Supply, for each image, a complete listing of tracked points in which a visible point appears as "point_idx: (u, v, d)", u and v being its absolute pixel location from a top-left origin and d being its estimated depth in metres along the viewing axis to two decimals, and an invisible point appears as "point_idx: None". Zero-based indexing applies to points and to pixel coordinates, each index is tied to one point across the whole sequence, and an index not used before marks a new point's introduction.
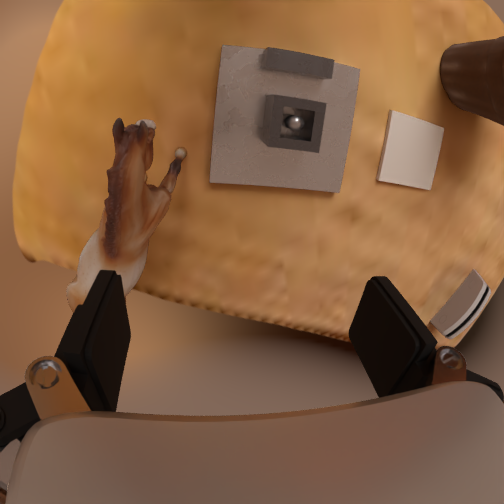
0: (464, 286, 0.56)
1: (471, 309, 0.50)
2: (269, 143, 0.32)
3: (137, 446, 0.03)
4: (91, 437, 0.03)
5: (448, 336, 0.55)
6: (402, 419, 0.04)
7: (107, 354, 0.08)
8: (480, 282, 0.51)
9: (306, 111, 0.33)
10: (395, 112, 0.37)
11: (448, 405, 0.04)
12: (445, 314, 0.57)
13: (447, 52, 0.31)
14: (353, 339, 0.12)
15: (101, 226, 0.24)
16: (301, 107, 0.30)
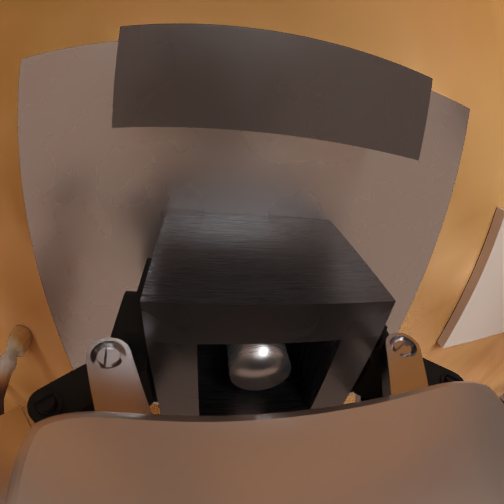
0: None
1: None
2: None
3: (137, 446, 0.03)
4: (91, 437, 0.03)
5: None
6: (402, 419, 0.04)
7: None
8: None
9: None
10: None
11: (448, 405, 0.04)
12: None
13: None
14: None
15: None
16: (281, 338, 0.07)
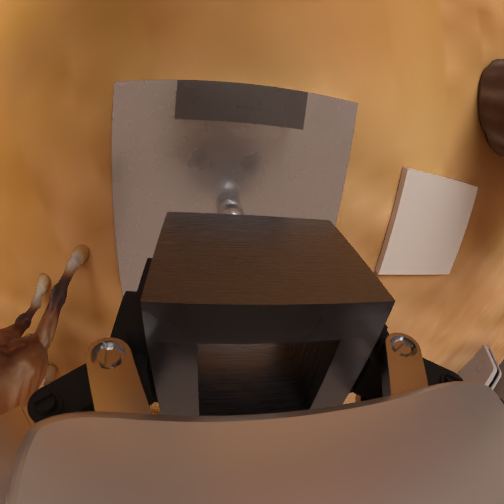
0: (471, 366, 0.42)
1: None
2: None
3: (137, 446, 0.03)
4: (90, 437, 0.03)
5: None
6: (402, 419, 0.04)
7: None
8: (490, 366, 0.38)
9: None
10: (412, 171, 0.24)
11: (448, 405, 0.04)
12: None
13: (489, 72, 0.19)
14: None
15: None
16: (280, 338, 0.07)
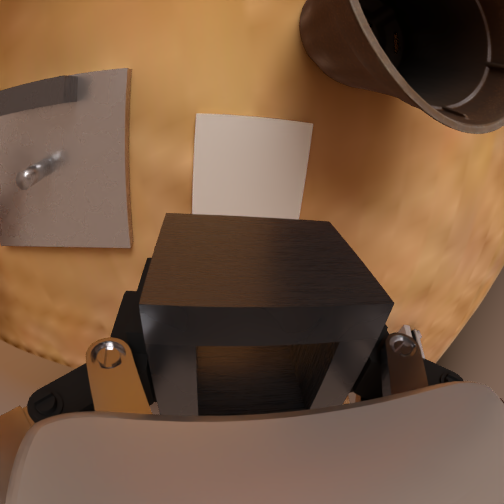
0: None
1: None
2: None
3: (137, 446, 0.03)
4: (90, 437, 0.03)
5: None
6: (402, 419, 0.04)
7: None
8: None
9: None
10: (202, 116, 0.25)
11: (448, 405, 0.04)
12: None
13: None
14: None
15: None
16: (279, 340, 0.07)
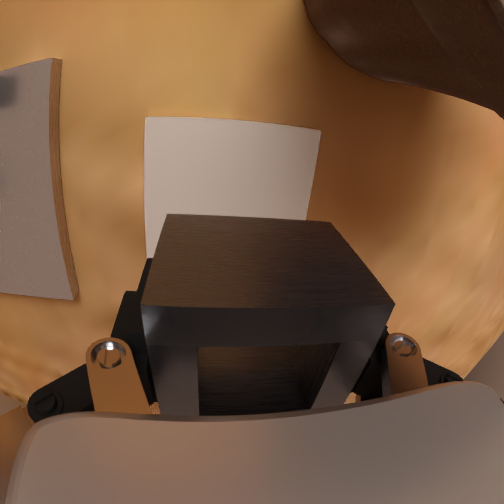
0: None
1: None
2: None
3: (137, 446, 0.03)
4: (91, 437, 0.03)
5: None
6: (402, 419, 0.04)
7: None
8: None
9: None
10: (154, 120, 0.16)
11: (448, 405, 0.04)
12: None
13: None
14: None
15: None
16: (280, 341, 0.07)
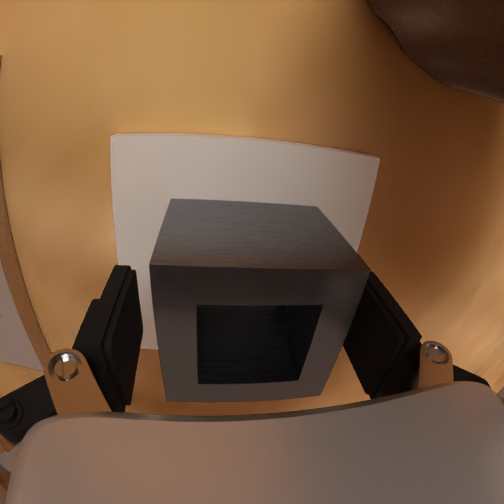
0: None
1: None
2: (168, 395, 0.10)
3: (137, 446, 0.03)
4: (90, 437, 0.03)
5: None
6: (402, 419, 0.04)
7: (124, 347, 0.08)
8: None
9: None
10: (124, 141, 0.10)
11: (448, 405, 0.04)
12: None
13: None
14: None
15: None
16: (268, 300, 0.08)
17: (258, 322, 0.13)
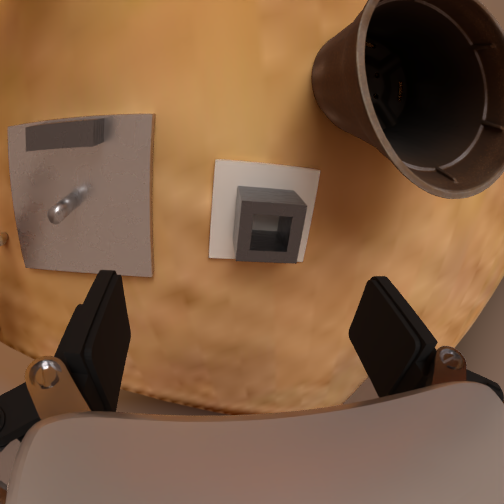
0: None
1: None
2: (237, 257, 0.29)
3: (137, 446, 0.03)
4: (90, 437, 0.03)
5: None
6: (402, 419, 0.04)
7: (107, 354, 0.08)
8: None
9: None
10: (221, 162, 0.29)
11: (448, 405, 0.04)
12: None
13: (321, 49, 0.24)
14: (353, 339, 0.12)
15: None
16: (275, 214, 0.27)
17: (270, 237, 0.32)
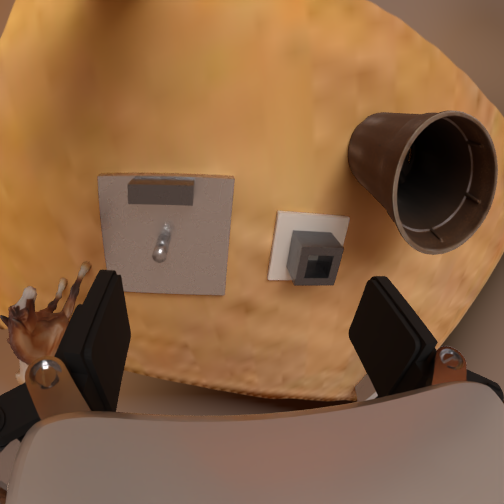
0: None
1: None
2: (295, 282, 0.41)
3: (137, 446, 0.03)
4: (90, 437, 0.03)
5: None
6: (402, 419, 0.04)
7: (107, 354, 0.08)
8: None
9: None
10: (282, 214, 0.42)
11: (448, 405, 0.04)
12: (364, 385, 0.63)
13: (357, 130, 0.36)
14: (353, 339, 0.12)
15: None
16: (323, 254, 0.40)
17: (314, 265, 0.44)
